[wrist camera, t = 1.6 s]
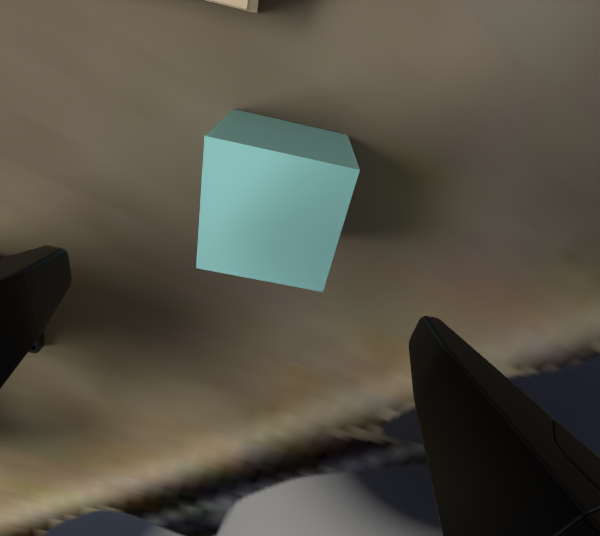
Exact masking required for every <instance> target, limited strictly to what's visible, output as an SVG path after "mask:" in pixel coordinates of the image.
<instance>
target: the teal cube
mask: <svg viewBox="0 0 600 536" xmlns="http://www.w3.org/2000/svg"><path fill="white" fill-rule="evenodd" d="M359 171H360V169H359V166H358V163H357V160H356V157H355V154H354V152H353V149H352V146H351V143H350V140H349V137H348V135H346V134H341V133H337V132H332V131H328V130H324V129H319V128H315V127H311V126H306V125H302V124H297V123H293V122H289V121H284V120H280V119H276V118H271V117H267V116H262V115H258V114H254V113H249V112H245V111H241V110H236V109H233V110H232V111H231V112H230V113H229V114H228V115H227V116H226V117H225V118H223V119H222V120H221V121H220V122H219V123H218V124H217V125H216V126H215V127H214V128H213V129H212V130H210V131H209V132H208V133H207V134H206V135H205V139H204V154H203V170H202V185H201V200H200V215H199V231H198V246H197V261H196V268H198V269H204V270H209V271H214V272H220V273H225V274H230V275H235V276H241V277H246V278H251V279H257V280H262V281H267V282H272V283H278V284H283V285H288V286H294V287H299V288H304V289H309V290H315V291H320V292H323V290H324V287H325V283H326V280H327V277H328V273H329V270H330V267H331V264H332V260H333V257H334V254H335V250H336V247H337V244H338V240H339V237H340V234H341V231H342V227H343V224H344V221H345V217H346V214H347V211H348V208H349V204H350V201H351V198H352V194H353V191H354V188H355V185H356V181H357V178H358V175H359Z"/></svg>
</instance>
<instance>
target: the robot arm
mask: <svg viewBox="0 0 600 536" xmlns="http://www.w3.org/2000/svg"><path fill="white" fill-rule="evenodd" d="M71 279H72V277H71V270H70V263H69V257H68V253H67V251H66V250H65V249H63V248H58V247H53V246H43V247H39V248H36V249H32V250H29V251H25V252H22V253H18V254H14V255H11V256H7V257H4V258H0V388H1V387H2V386H3V384H4V383H5V382H6V380H7V379H8V378H9V376H10V375H11V374H12V372H13V371H14V370H15V368H16V367H17V366H18V364H19V363H20V362H21V361H22V359H23V358H24V357H25V355H26V354H27V353H28V352H31V353H37V352H39V351H40V350H41V349H42V347H43V346H44V342H43V338H42V334H41V333H42V332H43V330H44V329H45V327H46V325H47V324H48V322H49V320H50V318H51V317H52V315H53V313H54V312H55V310H56V308H57V307H58V305H59V303H60V302H61V300H62V298H63V297H64V295H65V293H66V292H67V290H68V288H69V286H70V284H71ZM409 353H410V364H411V374H412V384H413V394H414V400H415V406H416V411H417V415H418V420H419V425H420V429H421V434H422V439H423V444H424V448H425V453H426V458H427V462H428V467H429V472H430V476H431V481H432V486H433V490H434V495H435V500H436V504H437V509H438V514H439V518H440V523H441V528H442V532H443V536H600V458H599V456H597V455H596V454H595V453H594V452H592V451H591V450H590V449H589V448H588V447H587V446H585V445H584V444H583V443H582V442H581V441H579V440H578V439H577V438H575V436H573V435H572V434H571V433H570V432H569V431H568V430H566V429H565V428H564V427H563V426H562V425H561V424H560V423H559V422H557V421H556V420H554V419H553V420H552V417H551V416H550V415H549V414H548V413H547V412H546V411H545V410H543V409H542V408H541V407H540V406H539V405H538V404H537V403H535V402H534V401H533V400H532V399H531V398H530V397H529V396H527V395H526V394H525V393H524V392H523V391H522V390H520V389H519V388H518V387H517V386H516V385H515V384H514V383H512V382H511V381H510V380H509V379H508V378H507V377H505V376H504V375H503V374H502V373H501V372H500V371H499V370H497V369H496V368H495V367H494V366H493V365H492V364H491V363H489V362H488V361H487V360H486V359H485V358H484V357H482V356H481V355H480V354H479V353H478V352H477V351H476V350H474V349H473V348H472V347H471V346H470V345H469V344H468V343H466V342H465V341H464V340H463V339H462V338H461V337H459V336H458V335H457V334H456V333H455V332H454V331H453V330H451V329H450V328H449V327H448V326H447V325H446V324H445V323H443V322H442V321H441V320H440V319H438V318H435V317H429V316H423V317H421V318H420V320H419V322H418V324H417V326H416V328H415V330H414V332H413V334H412V336H411V338H410V341H409Z"/></svg>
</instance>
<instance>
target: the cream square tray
mask: <svg viewBox="0 0 600 536" xmlns="http://www.w3.org/2000/svg"><path fill="white" fill-rule="evenodd" d="M206 1H209V2H213V3H217V4H221V5H225V6H229V7H233V8H237V9H241V10H245V11H249V12H253V13H257V10H258V2H259V0H206Z"/></svg>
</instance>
